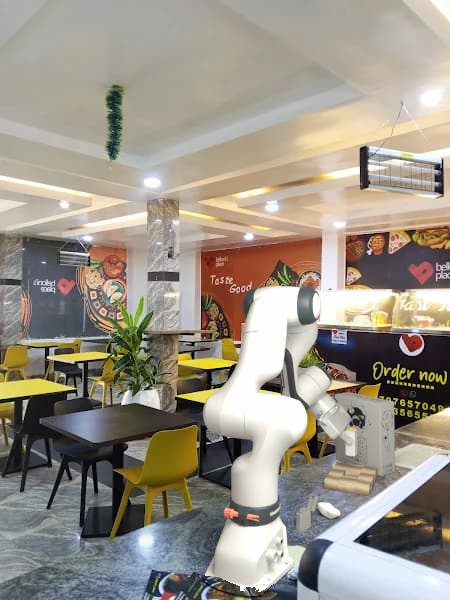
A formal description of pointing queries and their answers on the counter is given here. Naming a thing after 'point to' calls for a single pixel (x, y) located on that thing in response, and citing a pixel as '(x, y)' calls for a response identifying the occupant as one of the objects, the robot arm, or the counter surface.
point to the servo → (352, 448)
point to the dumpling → (328, 510)
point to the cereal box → (369, 432)
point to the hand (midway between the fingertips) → (353, 440)
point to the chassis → (351, 478)
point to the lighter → (306, 514)
